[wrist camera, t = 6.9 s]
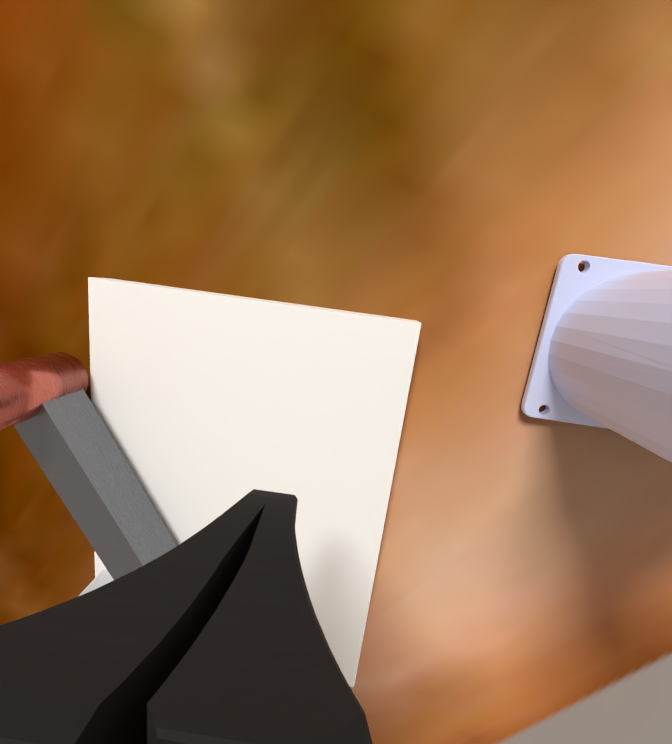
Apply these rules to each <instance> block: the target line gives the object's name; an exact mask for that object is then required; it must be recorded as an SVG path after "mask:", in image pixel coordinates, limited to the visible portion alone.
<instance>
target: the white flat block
mask: <svg viewBox="0 0 672 744" xmlns="http://www.w3.org/2000/svg"><path fill="white" fill-rule="evenodd" d="M88 293H89V335H90V377H91V403H92V404H93V406H94V408H95V409H96V411H97V413H98V414H99V416H100V418H101V419H102V421H103V423H104V424H105V426H106V428H107V430H108V431H109V433H110V435H111V436H112V438H113V440H114V441H115V443H116V445H117V446H118V448H119V450H120V451H121V453H122V455H123V456H124V458H125V460H126V461H127V463H128V465H129V466H130V468H131V470H132V471H133V473H134V475H135V476H136V478H137V480H138V481H139V483H140V485H141V486H142V488H143V490H144V491H145V493H146V495H147V497H148V498H149V500H150V502H151V503H152V505H153V507H154V508H155V510H156V512H157V513H158V515H159V517H160V518H161V520H162V522H163V523H164V525H165V527H166V528H167V530H168V532H169V533H170V535H171V537H172V538H173V540H174V542H175V543H176V545H177V546H178V545H180V544H181V543H183V542H184V541H185V540H187V539H188V538H190V537H191V536H193V535H194V534H196V533H197V532H199V531H200V530H202V529H203V528H204V527H206V526H207V525H208V524H210V523H211V522H212V521H214V520H215V519H216V518H218V517H219V516H220V515H222V514H223V513H224V512H225V511H227V510H228V509H229V508H230V507H232V506H233V505H234V504H235V503H237V502H238V501H239V500H240V499H242V498H243V497H244V496H245V495H247V494H248V493H249V492H251V491H252V490H253V489H257V490H264V491H271V492H278V493H285V494H292V495H295V496H296V497H297V499H298V502H297V512H296V522H295V532H296V541H297V548H298V554H299V559H300V563H301V568H302V572H303V576H304V580H305V583H306V587H307V590H308V593H309V597H310V600H311V602H312V605H313V608H314V611H315V614H316V616H317V619H318V621H319V624H320V626H321V628H322V631H323V633H324V635H325V638H326V640H327V642H328V645H329V647H330V649H331V651H332V653H333V655H334V657H335V660H336V662H337V664H338V666H339V668H340V670H341V672H342V674H343V675H344V677H345V679H346V681H347V683H348V685H349V686H350V687H354V685H355V680H356V674H357V669H358V663H359V658H360V653H361V647H362V642H363V636H364V631H365V626H366V620H367V615H368V609H369V604H370V598H371V593H372V588H373V582H374V577H375V571H376V566H377V561H378V555H379V550H380V544H381V539H382V533H383V528H384V523H385V517H386V512H387V506H388V501H389V496H390V490H391V485H392V479H393V474H394V469H395V463H396V458H397V452H398V447H399V441H400V436H401V431H402V425H403V420H404V414H405V409H406V404H407V398H408V393H409V387H410V382H411V377H412V371H413V366H414V360H415V355H416V349H417V344H418V339H419V333H420V328H421V323H420V322H418V321H416V320H409V319H402V318H395V317H387V316H380V315H373V314H365V313H358V312H351V311H344V310H336V309H329V308H322V307H314V306H307V305H300V304H293V303H285V302H278V301H271V300H264V299H256V298H249V297H242V296H234V295H227V294H220V293H213V292H205V291H198V290H191V289H183V288H176V287H169V286H162V285H154V284H147V283H140V282H133V281H125V280H118V279H111V278H93V277H88ZM111 581H113V578H112V577H111V575H110V573H109V572H108V570H107V569H106V567H105V566H104V564H103V563H102V561H101V560H100V558H99V557H98V555H97V553H96V552H95V579H94V580H93V581H92V582H91V583H90V584H89V585H88V586H87V587H86V588H85V590H84V591H83V592H82V593H81V594H80V595H79V596H81V595H83V594H86V593H88V592H90V591H92V590H95V589H97V588H99V587H101V586H103V585H105V584H107V583H109V582H111Z"/></svg>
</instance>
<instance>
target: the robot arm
mask: <svg viewBox="0 0 672 744" xmlns="http://www.w3.org/2000/svg"><path fill="white" fill-rule="evenodd" d="M580 262H583V263H584V264H585V268H584V270H583V271H582V272H580V271H579V270H578V265H579V263H580ZM542 405H546V408H545V410H544V411H543V412H539V408H540V407H541V406H542ZM521 409H522V412H523V413H524V414H526V415H527V416H529V417H532V418H539V419H546V420H553V421H560V422H567V423H574V424H581V425H587V426H594V427H601V428H608V429H611V430H613V431H615V432H616V433H618V434H620V435H622V436H624V437H625V438H627V439H629V440H631V441H633V442H635V443H636V444H638V445H640V446H642V447H644V448H645V449H647V450H649V451H651V452H653V453H654V454H656V455H658V456H660V457H662V458H663V459H665V460H667V461H669V462H671V463H672V266H666V265H658V264H650V263H643V262H635V261H627V260H619V259H612V258H604V257H596V256H588V255H581V254H569V255H566V256H564V257H562V258H561V259H560V261H559V263H558V266H557V270H556V274H555V277H554V281H553V285H552V289H551V293H550V297H549V300H548V304H547V308H546V312H545V316H544V320H543V323H542V327H541V331H540V335H539V339H538V343H537V346H536V350H535V354H534V358H533V362H532V366H531V369H530V373H529V377H528V381H527V385H526V389H525V392H524V396H523V400H522V404H521ZM297 502H298V499H297V497H296V496H295V495H292V494H285V493H278V492H271V491H264V490H257V489H253V490H252V491H251V492H249V493H248V494H247V495H245V496H244V497H243V498H242V499H240V500H239V501H238V502H237V503H235V504H234V505H233V506H232V507H230V508H229V509H228V510H227V511H225V512H224V513H223V514H222V515H220V516H219V517H218V518H216V519H215V520H214V521H212V522H211V523H210V524H208V525H207V526H206V527H204V528H203V529H202V530H200V531H199V532H197V533H196V534H194V535H193V536H191V537H190V538H188V539H187V540H185V541H184V542H183V543H181V544H180V545H178V546H176V547H175V548H173V549H172V550H170V551H168V552H167V553H165V554H163V555H162V556H160V557H158V558H156V559H154V560H153V561H151V562H149V563H147V564H146V565H144V566H142V567H140V568H138V569H136V570H134V571H132V572H130V573H128V574H126V575H124V576H122V577H120V578H118V579H116V580H113V581H111V582H109V583H107V584H105V585H103V586H101V587H99V588H97V589H95V590H92V591H90V592H88V593H86V594H83V595H81V596H78V597H76V598H74V599H71V600H69V601H66V602H64V603H61V604H59V605H56V606H54V607H51V608H48V609H46V610H43V611H41V612H38V613H35V614H33V615H30V616H27V617H24V618H22V619H19V620H16V621H13V622H10V623H6V624H3V625H0V744H372V740H371V736H370V732H369V728H368V725H367V721H366V717H365V713H364V711H363V709H362V707H361V705H360V704H359V702H358V700H357V699H356V697H355V695H354V693H353V692H352V690H351V688H350V686H349V685H348V683H347V681H346V679H345V677H344V675H343V674H342V672H341V670H340V668H339V666H338V664H337V662H336V660H335V657H334V655H333V653H332V651H331V649H330V647H329V645H328V642H327V640H326V638H325V635H324V633H323V631H322V628H321V626H320V624H319V621H318V619H317V616H316V614H315V611H314V608H313V605H312V602H311V600H310V597H309V593H308V590H307V587H306V583H305V580H304V576H303V572H302V568H301V563H300V559H299V554H298V548H297V541H296V532H295V522H296V512H297Z"/></svg>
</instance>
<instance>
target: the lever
mask: <svg viewBox="0 0 672 744" xmlns="http://www.w3.org/2000/svg"><path fill="white" fill-rule="evenodd" d="M87 388H88V375H87V372H86V370H85V368H84V366H83V365H82V364H81V363H80V361H78V360H77V359H76V358H75V357H73V356H72V355H69V354H67V353H62V352H56V353H50V354H45V355H41V356H36V357H31V358H26V359H21V360H16V361H11V362H6V363H1V364H0V430H2V429H5V428H8V427H10V426H13V425H14V427H15V428H16V430H17V431H18V433H19V435H20V436H21V438H22V439H23V441H24V442H25V444H26V445H27V447H28V448H29V450H30V452H31V453H32V455H33V456H34V458H35V459H36V461H37V462H38V464H39V465H40V467H41V469H42V470H43V472H44V473H45V475H46V476H47V478H48V479H49V481H50V482H51V484H52V486H53V487H54V489H55V490H56V492H57V493H58V495H59V496H60V498H61V499H62V501H63V502H64V504H65V506H66V507H67V509H68V510H69V512H70V513H71V515H72V516H73V518H74V519H75V521H76V523H77V524H78V526H79V527H80V529H81V530H82V532H83V533H84V535H85V536H86V538H87V540H88V541H89V543H90V544H91V546H92V547H93V549H94V550H95V552H96V553H97V555H98V557H99V558H100V560H101V561H102V563H103V564H104V566H105V567H106V569H107V570H108V572H109V573H110V575H111V577H112V578H113V580H116V579H118V578H120V577H122V576H124V575H126V574H128V573H130V572H132V571H134V570H136V569H138V568H140V567H142V566H144V565H146V564H147V563H149V562H151V561H153V560H154V559H156V558H158V557H160V556H162V555H163V554H165V553H167V552H168V551H170V550H172V549H173V548H175V547H176V546H177V545H176V543H175V542H174V540H173V538H172V537H171V535H170V533H169V532H168V530H167V528H166V527H165V525H164V523H163V522H162V520H161V518H160V517H159V515H158V513H157V512H156V510H155V508H154V507H153V505H152V503H151V502H150V500H149V498H148V497H147V495H146V493H145V491H144V490H143V488H142V486H141V485H140V483H139V481H138V480H137V478H136V476H135V475H134V473H133V471H132V470H131V468H130V466H129V465H128V463H127V461H126V460H125V458H124V456H123V455H122V453H121V451H120V450H119V448H118V446H117V445H116V443H115V441H114V440H113V438H112V436H111V435H110V433H109V431H108V430H107V428H106V426H105V424H104V423H103V421H102V419H101V418H100V416H99V414H98V413H97V411H96V409H95V408H94V406H93V404H92V403H91V401H90V399H89V398H88V396H87V394H86V391H87Z"/></svg>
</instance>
